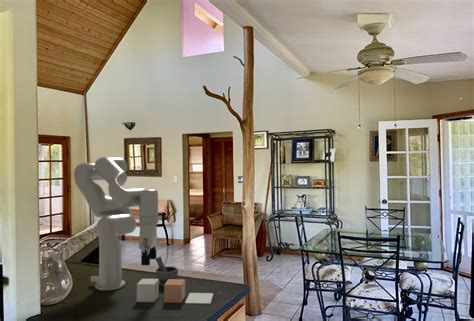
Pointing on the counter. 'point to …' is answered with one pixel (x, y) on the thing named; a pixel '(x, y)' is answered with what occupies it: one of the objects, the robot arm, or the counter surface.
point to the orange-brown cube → (174, 290)
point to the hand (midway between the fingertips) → (149, 261)
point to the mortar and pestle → (165, 272)
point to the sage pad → (199, 298)
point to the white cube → (147, 290)
